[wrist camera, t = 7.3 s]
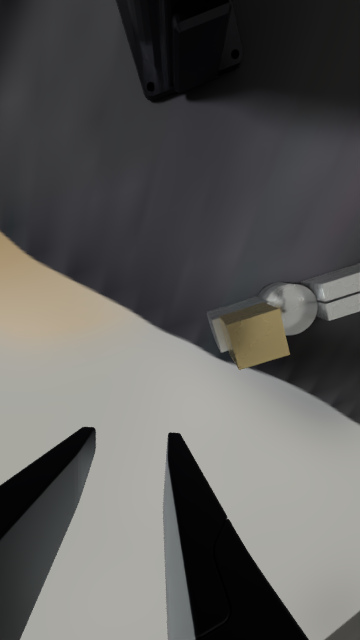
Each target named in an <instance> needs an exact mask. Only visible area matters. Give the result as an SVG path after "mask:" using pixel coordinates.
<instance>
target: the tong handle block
mask: <svg viewBox="0 0 360 640" xmlns="http://www.w3.org/2000/svg"><path fill="white" fill-rule="evenodd" d="M262 302H264V303H267V304H269V305H272V306H274V307H277V308H279V309H280V313H281V318H282V322H283V326H284V331H285V335H295V334H299V333H301V332H303V331H304V330H306V329H307V328H308V327H309V326H310V325H311V324H312V323H313V321H314V319H315V317H316V314H317V307H318V306H317V300H316V297H315V295H314V294H313V293H312V291H311V290H309V289H308V288H307V287H305V286H302V285H298V284H291V283H284V282H274V283H271V284H269V285H267V286H265V287H264V288H263V289H262V290H261V291H260V292H259V293H258V295H257V297H252V298H249V299H245V300H242V301H239V302H236V303H233V304H230V305H227V306H223V307H220V308H217V309H214V310H211V311H208V312H206V313H207V316H208V319H209V323H210V326H211V329H212V332H213V336H214V339H215V341H216V343H217V345H218V347H219V349H220V351H221V352H225V351H228V350H229V349H228V346H227V343H226V339H225V336H224V332H223V329H222V325H221V322H220V319H219V316H221V315H225V314H228V313H231V312H234V311H237V310H240V309H243V308H247V307H250V306H253V305H256V304H259V303H262Z"/></svg>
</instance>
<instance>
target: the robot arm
mask: <svg viewBox="0 0 360 640" xmlns="http://www.w3.org/2000/svg"><path fill="white" fill-rule="evenodd" d="M116 2H117V6H118V9H119V12H120V16H121V19H122V22H123V26H124V29H125V32H126V36H127V39H128V42H129V46H130V49H131V52H132V56H133V59H134V62H135V65H136V69H137V72H138V75H139V79H140V82H141V85H142V89H143V92H144V95H145V97H146V98H147V99H148V100H151V101H152V100H156V99H159V98H161V97H164V96H167V95H169V94H172V93H174V92H179V93H181V92H183V91H186V90H188V89H191V88H194V87H196V86H199V85H202V84H204V83H207V82H209V81H212V80H215V79H216V77H217V76H219V75H222V74H224V73H227V72H229V71H232V70H235V69H237V68H238V67H239V66H240V64H241V61H242V58H243V49H242V44H241V39H240V35H239V30H238V25H237V21H236V16H235V11H234V7H233V2H232V0H116ZM232 55H235V56H237V59H233V58H232V57H231V56H232ZM149 87H153V88H154V90H153V91H152V92H150V91H148V88H149ZM95 448H96V430H95V428H94V427H82V428H81V429H79V430H78V431H77V432H75V433H74V434H72V435H71V436H69V437H68V438H67V439H65V440H64V441H62V442H61V443H60V444H58V445H57V446H56V447H54V448H53V449H51V450H50V451H48V452H47V453H46V454H44V455H43V456H41V457H40V458H39V459H37V460H35V461H34V462H33V463H31V464H30V465H28V466H27V467H26V468H24V469H23V470H21V471H20V472H19V473H17V474H16V475H14V476H13V477H12V478H10V479H9V480H7V481H6V482H4V483H3V484H2V485H0V640H20V638H21V635H22V633H23V631H24V629H25V626H26V624H27V621H28V619H29V617H30V615H31V612H32V610H33V608H34V605H35V603H36V601H37V599H38V596H39V594H40V592H41V589H42V587H43V585H44V582H45V580H46V578H47V575H48V573H49V571H50V568H51V566H52V563H53V561H54V559H55V557H56V555H57V552H58V550H59V547H60V545H61V543H62V541H63V538H64V536H65V533H66V531H67V529H68V527H69V524H70V522H71V520H72V518H73V515H74V513H75V510H76V508H77V505H78V503H79V500H80V497H81V494H82V491H83V488H84V485H85V482H86V479H87V476H88V473H89V470H90V467H91V463H92V460H93V457H94V454H95ZM163 501H164V502H163V522H164V547H165V548H164V550H165V576H166V602H167V629H168V640H309V639H308V638H307V637H306V635H305V634H304V632H303V631H302V629H301V628H300V627H299V625H298V624H297V622H296V621H295V619H294V618H293V617H292V615H291V614H290V612H289V611H288V609H287V608H286V606H285V605H284V604H283V602H282V601H281V599H280V598H279V597H278V595H277V594H276V592H275V591H274V589H273V588H272V586H271V585H270V584H269V582H268V581H267V579H266V578H265V576H264V575H263V573H262V572H261V570H260V569H259V568H258V566H257V565H256V563H255V562H254V560H253V559H252V557H251V556H250V554H249V553H248V551H247V549H246V548H245V546H244V544H243V543H242V541H241V539H240V538H239V536H238V534H237V533H236V531H235V529H234V527H233V526H232V524H231V522H230V520H229V519H227V515H226V513H225V512H224V510H223V508H222V507H221V505H220V503H219V501H218V499H217V498H216V496H215V494H214V493H213V491H212V489H211V487H210V485H209V484H208V482H207V480H206V478H205V477H204V475H203V473H202V472H201V470H200V468H199V466H198V464H197V462H196V461H195V459H194V457H193V456H192V454H191V452H190V450H189V448H188V447H187V445H186V443H185V441H184V440H183V438H182V436H181V434H180V433H169V434H168V442H167V454H166V469H165V484H164V500H163Z"/></svg>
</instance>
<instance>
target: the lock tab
mask: <svg viewBox="0 0 360 640" xmlns="http://www.w3.org/2000/svg"><path fill="white" fill-rule="evenodd" d="M219 319H220V322H221V325H222V329H223V332H224V336H225V339H226V343H227V346H228V349H229V353H230V355H231V357H232V359H233V360H234V362H235V364H236V365H237V367H238V369H239V370H241V369H244V368H247V367H251V366H254V365H257V364H261V363H264V362H267V361H270V360H274V359H277V358H280V357H284V356H287V355H290V352H289V348H288V344H287V339H286V335H285V331H284V326H283V322H282V318H281V313H280V309H279V308H277V307H274V306H272V305H269V304H267V303H264V302H262V303H259V304H256V305H253V306H250V307H247V308H243V309H240V310H237V311H234V312H231V313H228V314H225V315H221V316H219Z"/></svg>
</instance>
